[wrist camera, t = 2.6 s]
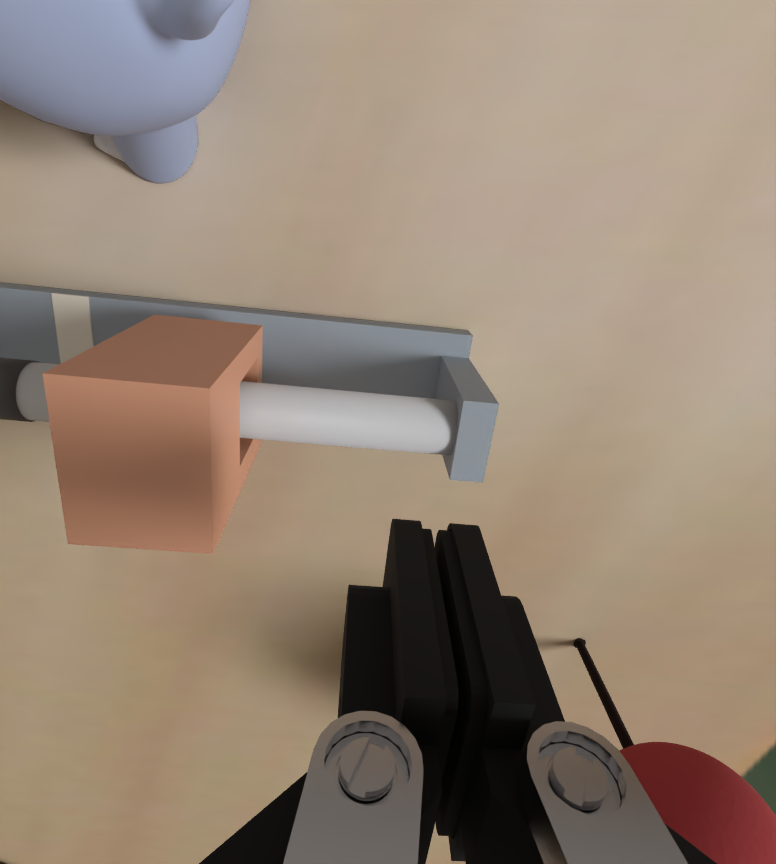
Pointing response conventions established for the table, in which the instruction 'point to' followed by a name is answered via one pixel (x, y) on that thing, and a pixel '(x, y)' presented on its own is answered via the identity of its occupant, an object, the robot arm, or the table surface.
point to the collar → (154, 433)
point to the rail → (280, 372)
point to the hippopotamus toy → (121, 71)
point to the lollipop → (696, 793)
